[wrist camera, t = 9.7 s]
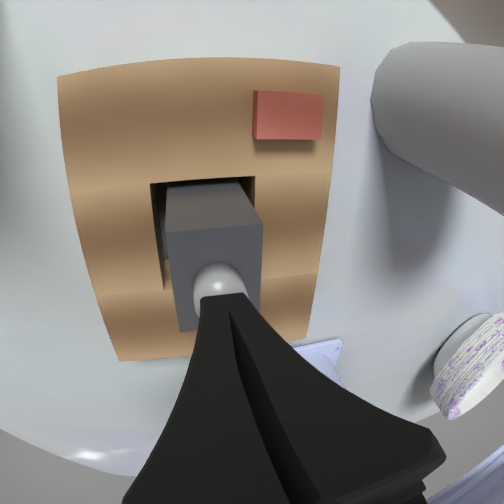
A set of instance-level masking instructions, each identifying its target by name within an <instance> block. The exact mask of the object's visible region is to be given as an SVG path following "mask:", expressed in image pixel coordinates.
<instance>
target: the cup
mask: <svg viewBox="0 0 504 504" xmlns="http://www.w3.org/2000/svg"><path fill="white" fill-rule="evenodd" d="M370 100H371V105H372V111H373V116H374V122H375V128H376V130H377V132H378V134H379V135H380V137H381V138H382V140H383V142H384V143H385V145H386V146H387V148H388V150H389V151H390V152H391V153H393V154H395V155H396V156H398V157H400V158H401V159H403V160H405V161H406V162H408V163H410V164H412V165H414V166H416V167H418V168H420V169H422V170H424V171H426V172H428V173H430V174H432V175H434V176H436V177H438V178H440V179H442V180H444V181H445V182H447V183H449V184H451V185H453V186H455V187H456V188H458V189H460V190H462V191H463V192H465V193H467V194H469V195H470V196H472V197H474V198H476V199H477V200H479V201H481V202H482V203H484V204H485V205H487V206H489V207H490V208H492V209H494V210H495V211H497V212H498V213H500V214H501V215H503V216H504V47H497V46H488V45H478V44H466V43H449V42H410V43H407V44H404V45H402V46H399V47H397V48H394V49H392V50H390V51H389V53H388V54H387V56H386V57H385V58H384V60H383V61H382V63H381V64H380V65H379V67H378V68H377V70H376V72H375V78H374V83H373V89H372V94H371V99H370Z"/></svg>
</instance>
